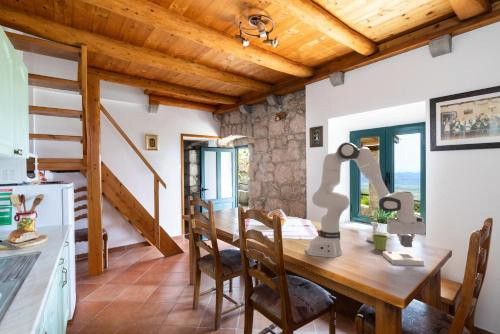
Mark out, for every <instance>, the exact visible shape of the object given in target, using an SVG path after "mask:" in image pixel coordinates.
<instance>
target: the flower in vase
mask: <svg viewBox="0 0 500 334" xmlns="http://www.w3.org/2000/svg"><path fill="white" fill-rule="evenodd" d="M373 213H374V208H372V207H368V208H366V209H365V210H364V211H363V215H364V216H366V217H369V216H370V217H369V218H367V219H365V221H367V222H370V224H371V225H372V233H370V234H369V235H367V236H366V237H365V238H366V240H367V241H369V242H372V243H374V239H373V237H372V235H374V234H378V233H377V226H378V225H379V222H377V221H378V217H375V218H372V214H373Z"/></svg>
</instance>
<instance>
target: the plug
mask: <svg viewBox="0 0 500 334" xmlns="http://www.w3.org/2000/svg"><path fill="white" fill-rule="evenodd" d="M400 237H401V238H403V242H400V241H399V242H400V243H399V244H400V245H401V246H402V247H403V248H413V242H412V237H411V235H410V234H401V236H400Z"/></svg>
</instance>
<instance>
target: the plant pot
mask: <svg viewBox="0 0 500 334" xmlns="http://www.w3.org/2000/svg"><path fill="white" fill-rule="evenodd" d="M372 237H373V239H374V242H373V243H374V249H375V250H377V251H386V248H387V242H388V241H387V240H388V238H389V236H387V235H385V234H380V233H377V234H374V235H372Z"/></svg>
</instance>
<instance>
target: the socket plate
mask: <svg viewBox="0 0 500 334" xmlns="http://www.w3.org/2000/svg"><path fill="white" fill-rule="evenodd" d="M382 256H383V258H385V259H386V260H388V261H389V263H391V265H400V266H401V265H404V266H405V265H407V266H425V263H424V260H423V259H422V258H420V257H419V256H417V255H416V254H414V253H412V252H411V251H389V250H388V251H387V250H382Z"/></svg>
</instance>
